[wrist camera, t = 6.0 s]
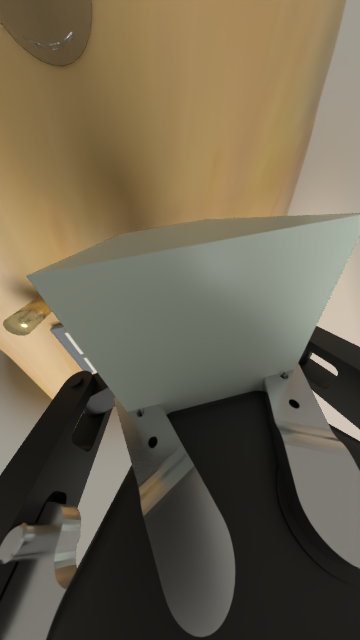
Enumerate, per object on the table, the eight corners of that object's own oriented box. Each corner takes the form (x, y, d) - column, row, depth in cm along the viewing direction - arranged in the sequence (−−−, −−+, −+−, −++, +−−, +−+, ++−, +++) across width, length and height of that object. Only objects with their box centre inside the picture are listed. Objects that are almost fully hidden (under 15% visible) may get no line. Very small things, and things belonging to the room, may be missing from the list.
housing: (121, 233, 10) (26, 275, 2) (205, 219, 10) (371, 212, 3) (160, 358, 16) (170, 470, 9) (209, 346, 17) (257, 445, 9)
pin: (34, 296, 26) (-3, 320, 20) (51, 292, 27) (20, 315, 20) (45, 310, 28) (14, 337, 22) (61, 306, 28) (36, 332, 22)
